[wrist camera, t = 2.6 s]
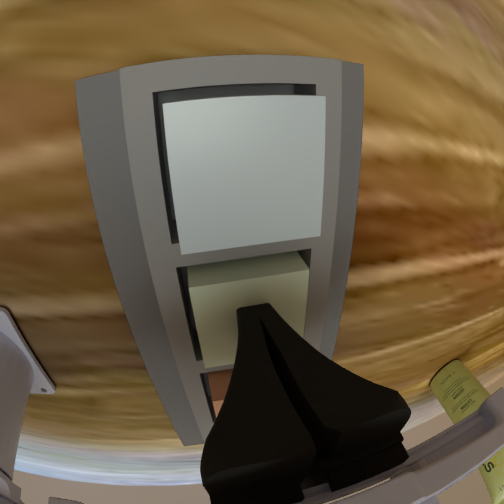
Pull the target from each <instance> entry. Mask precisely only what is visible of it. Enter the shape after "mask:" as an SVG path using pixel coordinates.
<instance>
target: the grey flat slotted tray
mask: <svg viewBox="0 0 504 504" xmlns="http://www.w3.org/2000/svg"><path fill="white" fill-rule="evenodd" d="M119 69H120V70H117V71H113V72H108V73H104V74H99V75H95V76H91V77H87V78H83V79H79V80H76V81H75V88H76V99H77V109H78V117H79V125H80V133H81V140H82V146H83V152H84V158H85V164H86V170H87V175H88V180H89V185H90V190H91V195H92V199H93V204H94V208H95V213H96V217H97V221H98V225H99V229H100V233H101V237H102V241H103V244H104V248H105V252H106V255H107V259H108V262H109V265H110V269H111V272H112V275H113V279H114V282H115V285H116V288H117V291H118V294H119V297H120V300H121V303H122V306H123V309H124V312H125V315H126V317H127V320H128V323H129V326H130V328H131V331H132V334H133V336H134V339H135V341H136V344H137V347H138V349H139V352H140V354H141V356H142V359H143V361H144V364H145V366H146V368H147V371H148V373H149V375H150V378H151V380H152V382H153V385H154V387H155V389H156V391H157V393H158V396H159V398H160V400H161V402H162V404H163V406H164V408H165V410H166V412H167V414H168V416H169V418H170V420H171V422H172V424H173V426H174V428H175V430H176V432H177V434H178V436H179V438H180V440H181V442H182V443H183V445H184V446H189V445H198V444H205V440H206V438H207V436H208V434H209V432H210V430H211V428H212V426H213V424H214V422H215V420H216V414H215V410H214V406H213V403H212V397H211V391H210V385H209V379H208V372H213V371H220V370H226V369H232V368H233V367H234V364H229V365H223V366H217V367H210V368H205V365H204V361H203V356H202V352H201V347H200V343H199V338H198V333H197V328H196V323H195V318H194V313H193V308H192V303H191V298H190V293H189V286H188V273H187V266H191V265H198V264H205V263H212V262H219V261H226V260H233V259H240V258H248V257H255V256H262V255H269V254H276V253H283V252H290V251H297V252H298V254H299V255H300V256H301V258H302V259H303V261H304V262H305V264H306V265H307V267H308V268H309V282H308V294H307V305H306V316H305V326H304V336H303V339H304V340H306V341H307V342H308V343H309V344H310V345H312V346H313V347H314V348H315V349H316V350H318V351H319V352H320V353H322V354H323V355H324V356H326V357H327V358H329V359H330V360H332V357H333V352H334V348H335V343H336V338H337V333H338V328H339V323H340V318H341V313H342V307H343V302H344V296H345V290H346V284H347V278H348V271H349V265H350V258H351V250H352V243H353V235H354V227H355V218H356V209H357V199H358V189H359V177H360V164H361V148H362V128H363V86H364V74H363V64H359V63H351V62H343V61H341V60H339V59H330V58H320V57H307V56H290V55H225V56H208V57H195V58H185V59H176V60H168V61H160V62H153V63H147V64H141V65H135V66H129V67H124V68H119ZM267 94H298V95H315V96H326V117H325V161H324V185H323V204H322V220H321V235H320V236H317V237H309V238H302V239H294V240H287V241H279V242H272V243H264V244H257V245H249V246H242V247H235V248H227V249H220V250H213V251H205V252H198V253H191V254H184V255H181V249H180V243H179V236H178V230H177V223H176V217H175V210H174V203H173V195H172V188H171V180H170V172H169V164H168V155H167V146H166V136H165V126H164V115H163V103H166V102H172V101H180V100H188V99H198V98H209V97H222V96H238V95H267Z"/></svg>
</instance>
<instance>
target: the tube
mask: <svg viewBox="0 0 504 504" xmlns="http://www.w3.org/2000/svg"><path fill="white" fill-rule="evenodd" d="M430 388H431V390H432V391H433V393H434V394H435V396H436V397H437V399H438V400H439V402H440V403H441V405H442V406H443V408H444V409H445V411H446V412H447V414H448V416H449V417H450V419H451V420H452V422H453V424H456V423H458V422H459V421H461V420H462V419H464V418H466V417H467V416H469V415H470V414H472V413H473V412H475V411H476V410H478V409H479V407H480V405H481V404H482V403H483V402H484V401H485V400H486V399H487V398H488V397H489V396H490V394H489V393H488V391H486V389H485V388H484V387H483V386H482V385H481V383H480V382H479V381H478V380H477V379H476V378H475V377H474V376H473V374H472V373H471V372H470V371H469V370H468V369H467V368H466V367H465V365H464V364H463V363H462V362H461V361H460V360H454V361H452V362H450V363H449V364H447V365H446V366H445V367H444V368H442V369H441V370H440V371H439V372H438V373H437V375H436V376H435V377H434V378H433V380H432V382H431V384H430ZM478 469H479V471H480V473H481V475H482V477H483V480H484V482H485V484H486V486H487V489H488V491H489V494H490V497H491V500H492V503H493V504H504V447H503V448H501V449H500V450H499V451H498V452H497V453H495V454H494V455H493V456H492V457H491V458H489V459H488V460H487V461H486V462H484V463H483V464H482V465H480V466H479V467H478Z"/></svg>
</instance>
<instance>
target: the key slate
mask: <svg viewBox="0 0 504 504" xmlns="http://www.w3.org/2000/svg"><path fill="white" fill-rule="evenodd" d="M163 115H164V126H165V136H166V146H167V155H168V164H169V172H170V180H171V188H172V195H173V203H174V210H175V217H176V223H177V230H178V236H179V243H180V249H181V255H184V254H191V253H198V252H205V251H213V250H220V249H227V248H235V247H242V246H249V245H257V244H264V243H272V242H279V241H287V240H294V239H302V238H309V237H317V236H320V235H321V220H322V204H323V185H324V161H325V117H326V96H315V95H298V94H267V95H238V96H222V97H209V98H198V99H188V100H180V101H172V102H166V103H163Z"/></svg>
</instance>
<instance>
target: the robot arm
mask: <svg viewBox="0 0 504 504" xmlns="http://www.w3.org/2000/svg"><path fill="white" fill-rule="evenodd" d="M236 314H237V325H238V343H237V351H236V357H235V363H234V367H233V372H232V375H231V379H230V383H229V386H228V389H227V392H226V395H225V398H224V401H223V404H222V406H221V408H220V411H219V413H218V416H217V418H216V420H215V422H214V424H213V426H212V428H211V430H210V432H209V434H208V436H207V438H206V440H205V445H204V449H203V453H202V458H201V466H200V472H201V478H202V483H203V486H204V487H205V489H206V491H207V492H208V494H209V496H210V500H211V504H323V503H326V502H329V501H332V500H335V499H338V498H341V497H344V496H346V495H349V494H352V493H354V492H357V491H360V490H362V489H364V488H367V487H370V486H372V485H374V484H377V483H379V482H381V481H383V480H386V479H388V478H390V477H391V478H390V480H388V481H386V482H384V483H382V484H379V485H377V486H375V487H372V488H370V489H368V490H365V491H362V492H360V493H357V494H355V495H352V496H350V497H347V498H344V499H342V500H339V501H335V502H333V503H330V504H440V503H439V501H438V499H437V497H436V496H437V495H439V494H440V493H442V492H443V491H444V490H447V489H448V488H450V487H451V486H453V485H454V484H456V483H457V482H459V481H460V480H461V479H463V478H464V477H466V476H467V475H468V474H470V473H471V472H473V471H474V470H475V469H476V468H478V467H479V466H480V465H482V464H483V463H484V462H486V461H487V460H488V459H489V458H491V457H492V456H493V455H494V454H495V453H497V452H498V451H499V450H500V449H501V448H503V447H504V388H500V389H499V390H497V391H496V392H495V393H493V394H492V395H490V396H489V397H488V398H487V399H486V400H485V401H484V402H483V403H482V404H481V405H480V407H479V409H478V410H476V411H475V412H473V413H472V414H470V415H469V416H467V417H466V418H464V419H462V420H461V421H459V422H458V423H456V424H454V425H453V426H451V427H449V428H448V429H446V430H444V431H443V432H441V433H439V434H437V435H436V436H434V437H432V438H430V439H428V440H427V441H425V442H423V443H421V444H419V445H417V446H415V447H413V448H411V449H409V450H407V451H406V449H405V448H404V446H403V444H402V441H403V436H402V434H401V433H400V431H401V430H402V428H403V427H404V426H405V424H406V423H407V421H408V420H409V418H410V415H411V410H410V408H409V407H408V405H407V403H406V402H405V400H404V399H403V398H402V396H401V395H400V394H399V393H398V391H395V390H393V389H390V388H387V387H384V386H381V385H378V384H375V383H373V382H371V381H368V380H366V379H364V378H362V377H360V376H358V375H356V374H354V373H352V372H350V371H348V370H346V369H345V368H343V367H341V366H340V365H338V364H336V363H335V362H333V361H332V360H330V359H329V358H327V357H326V356H324V355H323V354H322V353H320V352H319V351H318V350H316V349H315V348H314V347H313V346H312V345H310V344H309V343H308V342H307V341H306V340H304V339H303V338H302V337H301V336H300V335H299V334H298V333H297V332H296V331H295V330H294V329H293V328H292V327H291V326H290V325H289V324H288V323H287V322H286V321H285V320H284V319H283V318H282V317H281V316H280V315H279V314H278V312H277V311H276V310H275V309H274V308H273V307H272V305H271V304H269V303H264V304H258V305H252V306H246V307H240V308H238V309H237V310H236ZM55 391H56V387H55V386H54V384H53V383H52V382H51V380H50V379H49V377H48V376H47V375H46V373H45V372H44V370H43V369H42V367H41V366H40V364H39V363H38V361H37V360H36V358H35V356H34V355H33V353H32V352H31V350H30V348H29V347H28V345H27V343H26V342H25V340H24V338H23V337H22V335H21V333H20V331H19V330H18V328H17V326H16V324H15V323H14V321H13V319H12V317H11V315H10V313H9V312H8V310H6V309H5V308H2V307H0V504H24V503H23V502H22V501H21V500H20V495H21V488H20V487H18V486H17V485H15V484H14V483H13V482H12V478H13V471H14V464H15V458H16V452H17V447H18V442H19V437H20V432H21V427H22V423H23V419H24V414H25V410H26V406H27V402H28V399H29V395H30V393H33V394H54V393H55ZM392 476H393V477H392ZM48 504H83V503H81V502H78V501H73V500H67V499H61V498H55V497H49V503H48Z"/></svg>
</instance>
